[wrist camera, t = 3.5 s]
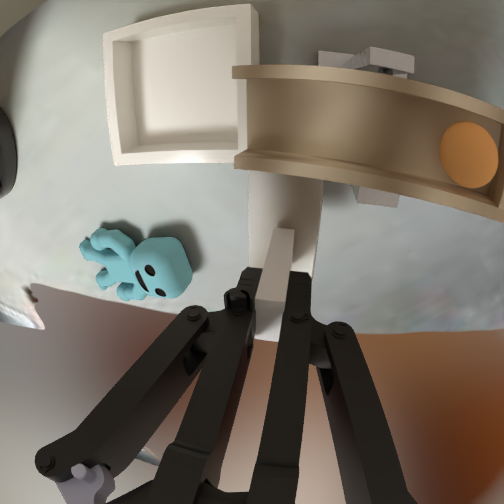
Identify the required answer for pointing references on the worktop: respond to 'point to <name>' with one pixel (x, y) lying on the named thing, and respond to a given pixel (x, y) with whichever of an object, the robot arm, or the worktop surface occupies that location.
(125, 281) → the toy
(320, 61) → the fulcrum
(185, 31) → the dish
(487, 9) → the worktop surface
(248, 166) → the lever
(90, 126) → the worktop surface
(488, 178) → the ball
